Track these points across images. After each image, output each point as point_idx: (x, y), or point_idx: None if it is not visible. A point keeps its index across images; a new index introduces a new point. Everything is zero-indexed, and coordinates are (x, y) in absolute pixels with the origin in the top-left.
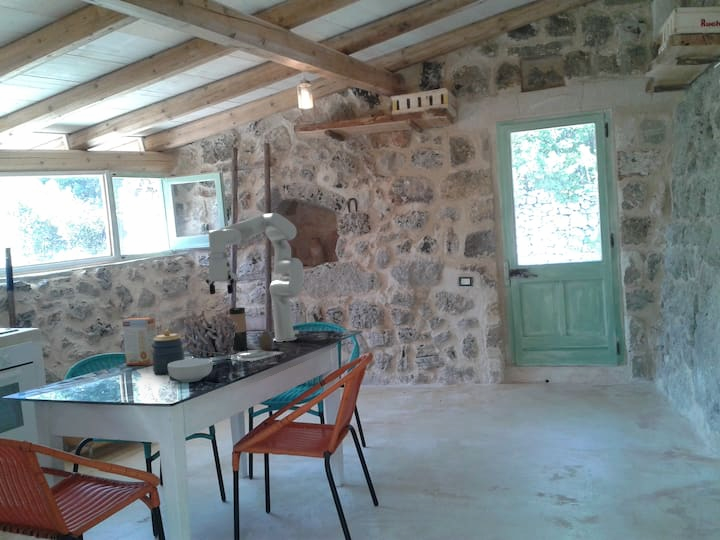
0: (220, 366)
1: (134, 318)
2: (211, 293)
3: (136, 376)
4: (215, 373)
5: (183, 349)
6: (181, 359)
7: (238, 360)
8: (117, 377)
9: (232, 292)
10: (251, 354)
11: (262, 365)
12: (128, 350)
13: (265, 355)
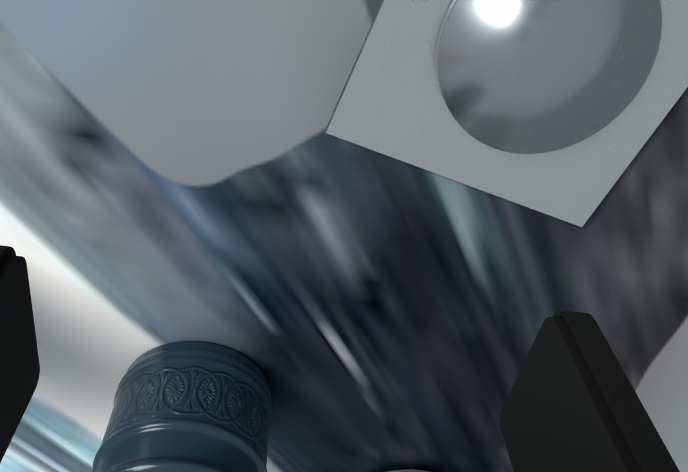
0: (420, 308)
1: None
2: (31, 385)
3: (94, 452)
4: (453, 420)
5: (253, 458)
6: (267, 446)
7: (481, 187)
8: (11, 463)
9: (585, 327)
10: (564, 133)
11: (651, 300)
12: None
13: (652, 76)
